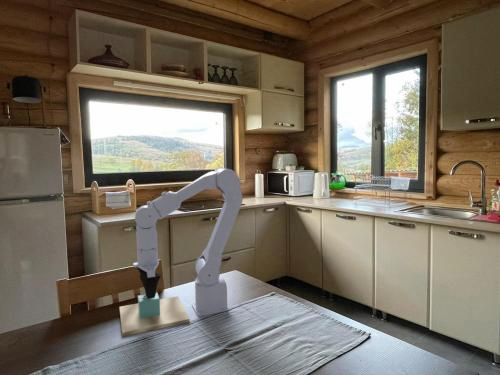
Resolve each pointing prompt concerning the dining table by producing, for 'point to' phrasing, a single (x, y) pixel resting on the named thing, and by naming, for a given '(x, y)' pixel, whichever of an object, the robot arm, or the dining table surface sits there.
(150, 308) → the mint green mini box
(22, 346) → the dining table surface
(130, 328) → the base plate
